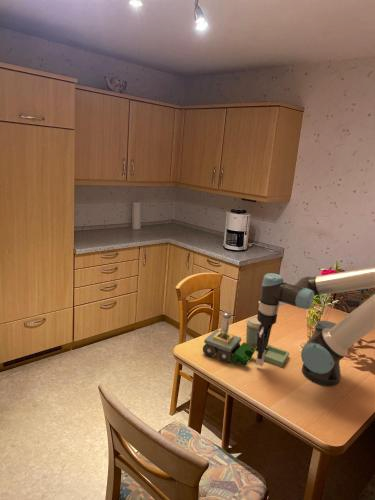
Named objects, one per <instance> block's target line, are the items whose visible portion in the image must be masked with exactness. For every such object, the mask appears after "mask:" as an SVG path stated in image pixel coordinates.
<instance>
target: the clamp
mask: <svg viewBox="0 0 375 500" xmlns="http://www.w3.org/2000/svg"><path fill="white" fill-rule="evenodd" d="M255 352H256V348H255V347H252V346H250V345H248V344H247V343H246V341H244V342H243V343H242V344H240V347H239V348H238V349H237V351H236V352H235V353H234V354H233V357H232V359H231V360H230V361H229V362H230V363H231V364H232V365H234V366H235V365H236V364H237V363H239V364H240V365H242V366H243V367H246V366H247V365H248V362H251V359H252V357H253V356H254V354H255Z"/></svg>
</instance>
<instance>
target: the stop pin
mask: <svg viewBox="0 0 375 500" xmlns="http://www.w3.org/2000/svg"><path fill="white" fill-rule="evenodd" d="M232 315H233V314H232V312H230V311H227V310H224V311H221V316H222V318H221V323H220V324H221V325H220V326H221V327H220V338H222V339H225V340H227V335H228V333H229V328H230V319H231V317H232Z"/></svg>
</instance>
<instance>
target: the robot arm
mask: <svg viewBox="0 0 375 500" xmlns="http://www.w3.org/2000/svg"><path fill="white" fill-rule="evenodd" d="M283 277H284V276H282V275H281V274H278V273H274V272H273V273H271V272H270V273H266V274H264V276H263V280H262V283H261V290H260V297H259V301H258V302H257V304H258V311H257V316H256V317H257V320H258V321H259V322H260V323H261V325H260V326H259V332H258V333H257V347H256V348H255V352H257V354H256V360H255V365H258V366H260V367H263V366H264V362H265V361H264V357H265V350H268V348H266V347H267V346H268V345H269V341H270V337H271V331H272V327H273V325H275V324H276V323H277V318H278V314H279V313H278V312H279V308H280V307H279V306H280V303H284V304H286V305H287V304H288V305H290V306H293V307H297V308H299V309H304V310H309V309H311V308H312V305H313V303H314V300H315V299H314V298H315V297H317V296H323V295H330V294H337V293H344V292H353V291H358V290H366V289H373V288H375V266H374V265H373V266H369V267H364V268H357V269H352V270H346V271H340V272H335V273H329V274H324V275H323V274H322V275H317V276H312V275H311V276H310V275H306V276H304V277H302V278H300V279H299V280H298V281H297V282H296V283H295V284H291V283H287V282H284V278H283ZM374 330H375V293H374V294H372V295H371V296H370V297H369V298H367V299H366V300H365V301H364V302H362V303H361V304H360V305H359V306H358V307H356V308H355V309H354V310H352V311H351V312H350V313H349V314H348V315H346V316H344V318H343V319H341V320H340V321H339V322H338V323H336V322H333V321H330V320H329V321H328V320H318V321H316V324H315V325H314V331H313V333H312V334H311V337H310V338H309V339H308V341H307V342H306V343H305V344H304V345H303V346H302V349H301V352H300V357H301V361H302V363H303V364H302V367H301V373H302V374H303V376H304V377H306V378H307V380H309V381H311V382H313V383H315V384H317V385H321V386H326V387H332V386H336V385H339V383H340V381H341V376H342V375H341V366H340V361H341V360H342V359H343V358H345V357H346V356H348V350H349V348H350V347H352V346H353V345H354V344H356V343H358V342H359V341H360V340H361V339H363V338H364V337H366V336H367V335H368V334H370V332H372V331H374Z"/></svg>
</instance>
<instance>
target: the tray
mask: <svg viewBox="0 0 375 500" xmlns="http://www.w3.org/2000/svg"><path fill="white" fill-rule="evenodd" d="M266 348H268V350H265V357H264V362H265V363H268V364H270V365H274V366H276V367H279V368H283V367H284V365H285V363H286V362H287V360H288V359H289V356H290V351H287V350H284V349H281V348H278V347H276V346H272V345H269V344H268V346H267V347H266Z"/></svg>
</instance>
